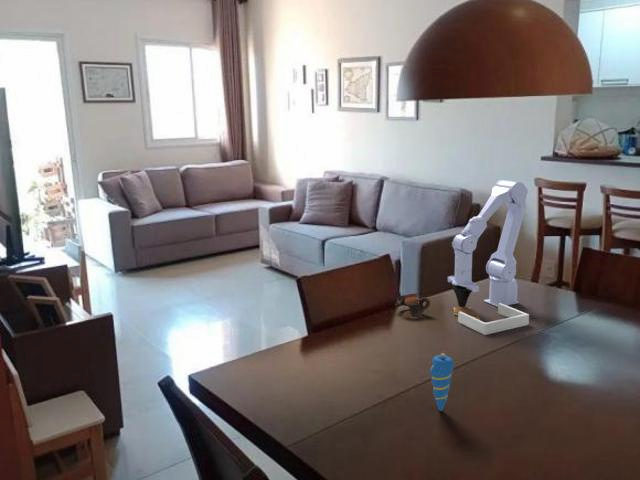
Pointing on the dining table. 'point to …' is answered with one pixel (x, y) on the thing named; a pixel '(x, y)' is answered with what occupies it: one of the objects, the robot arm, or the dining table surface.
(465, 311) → the shard
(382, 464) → the dining table surface
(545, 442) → the dining table surface
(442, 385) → the ornament
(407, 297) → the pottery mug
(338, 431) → the dining table surface
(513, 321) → the box
